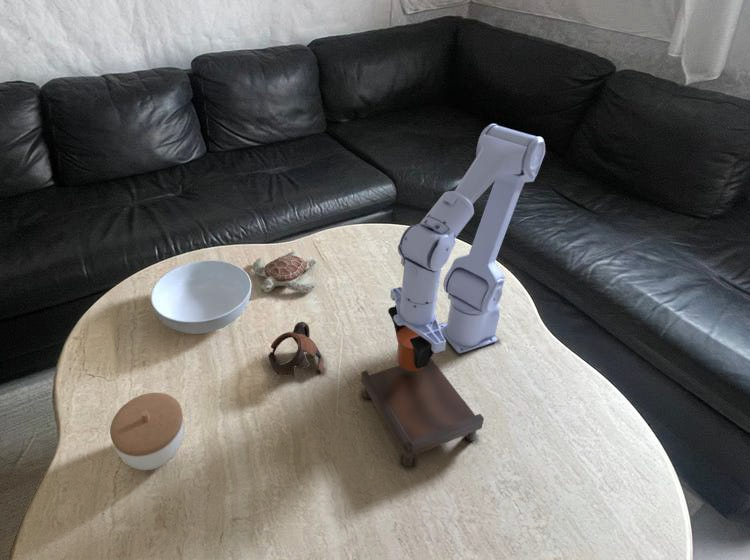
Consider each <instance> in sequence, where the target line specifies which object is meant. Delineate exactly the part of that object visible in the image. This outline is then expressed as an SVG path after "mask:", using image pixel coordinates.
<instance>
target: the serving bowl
mask: <svg viewBox="0 0 750 560" xmlns="http://www.w3.org/2000/svg"><path fill="white" fill-rule="evenodd" d="M252 288H253V287H252V280H251V277H250V275H249V274H248V273H247V271H246V270H244V268H242V267H241V266H238V265H236V264H235V263H232V262H229V261H224V260H220V259H219V260H218V259H205V260H196V261H192V262H188V263H184V264H181V265H179V266H176V267H174V268H173V269H171V270H169V271H167V272H166V273H164V274H163V275H162V276H161V277H159V279H158V280H157V281H156V283H155V284H154V285H153V287H152V289H151V293H150V303H151V307H152V308H153V311H154V313H155V315H156V316H157V317H158V319H159V320H160V321H161V322H162V323H163V324H164V325H166V326H167V327H168V328H170V329H171V330H175V331H177V332H181V333H184V334H191V335H192V334H195V335H197V334H207V333H211V332H215V331H218V330H220V329H223V328H225V327H227V326H229V325H230V324H231V323H233V322H235V321H236V320H237V319H238V318H239V317H240V316H241V315H242V314H243V312H244V311H245V309H247V306H248V304H249V301H250V299H251V294H252Z"/></svg>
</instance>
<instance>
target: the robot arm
mask: <svg viewBox="0 0 750 560" xmlns="http://www.w3.org/2000/svg"><path fill="white" fill-rule="evenodd" d="M545 143H546V142H545V140H544V138H543V137H542V136H536V135H533V134H529V133H525V132H522V131H519V130H515V129H511V128H508V127H505V126H501V125H498V124H497V123H490V124H489V125H488V126H486V127H484V129H483V130H482V132H481V133H480V135H479V137H478V141H477V145H476V150H475V151H476V152H475V158H474V160H473V162H472V163H471V164H470V166H469V168H468V170H466V173H465V174H464V175H463V177H462V178H461V180H460V181H459V183H458V185H457V187H456V188H455V190H449V191H445V192H444V193H443V194H442V195H441V196H440V198H439V199H438V200H437V201H436V203H434V205H433V206H432V207H431V209H430V210H429V211H428V212H427V213H426V215H425V216H424V217H423V218H422V220H421V221H420V222H419V223H416V224H411V225H409V226H408V227H407V228H406V229H405V230H404V232H403V233H402V235H401V238H400V241H399V244H398V245H397V252H398V255H399V256H400V258H401V259H400V264H401V266H402V267H403V276H402V283H401V286H397V287H394V288H391V289H390V295H389V296H390V299H391V300H392V301H394V304H395V305H394V306H391V307H389V308H388V311H387V312H388V315H389V316H390V318H391V320H392V323H393V326H394V330H395V336H396V337H397V333H398V331H399V330H400V329H401V328H403V327H405V326H407V327H408V328H410V329H411V330H413V331H414V332H415V333H417V334H418V335H420V336H418V337H414V338H411V339H410V342H411V344H412V346H413V349H414V364H415V367H416V368H417V369H419V368H422V367H425V366H427V364H428V362H429V360H430V359H432V357H433V355H434V354H436V353H441V352H444V351H446V345H447V342H448V343H449V345H451V347H452V348H453V349H454V350H455V351H456V352H457V354H463V353H466V352H469V351H472V350H475V349H477V348H481V347H484V346H487V345H490V344H493V343H497V342H498V337H497V336H496V333H497V329H498V325H499V320H500V312H501V311H500V307H499V302H500V300H501V298H502V295H503V286H504V283H505V280H506V279H505V278H506V277H505V275H504V274H503V271H501V269H500V268H499V266H498V264H497V263H496V261H497V257H498V254H499V251H500V249H501V246H502V244H503V241H504V238H505V235H506V233H507V230H508V228H509V224H510V222H511V219H512V217H513V214H514V211H515V209H516V205H517V203H518V200H519V197H520V195H521V192H522V190H523V187H524V185H525V183H533V182H535V179H536V177H537V175H538V173H539V171H540V168H541V165H542V162H543V159H544V157H545V155H546V144H545ZM492 184H493V185H492ZM491 185H492V188H491V191H490V193H489V196H488V199H487V202H486V205H485V207H484V211H483V212H482V216H481V219H480V222H479V225H478V227H477V230H476V233H475V236H474V238H473V241H472V244H471V247H470V250H469V253H468V254H465V255H461V256H458V257H457V258H455V259H454V260H453V262H452V264H451V266H450V268H449V270H448V271H447V272H446V274H445V277H444V279H443V291H444V292H445V293H447V299H448V300H449V301H450V304H449V310H448V316H447V322H446V323H443V324H440V325H439V321H438V319H437V315H436V308H437V307H436V306H437V299H438V293H439V286H440V279H441V278H440V277H441V273H442V268H443V267H444V266H445V265H446V264H447V262H448V260H449V258H450V257H451V254H452V251H453V249H454V247H455V246H456V245H455V244H456V238H457V237H458V236H459V235H460V233H461V232H462V230H463V229H464V228H465V227H466V225H467V224H468V223H469V221H470V220H471V219H472V217H473V216H474V214H475V209H474V205H473V204H475V203H476V201H478V199H479V198H480V197H481V196H482V195H483V194H484V193H485V192H486V191H487V190H488V188H489V187H490V186H491Z"/></svg>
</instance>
